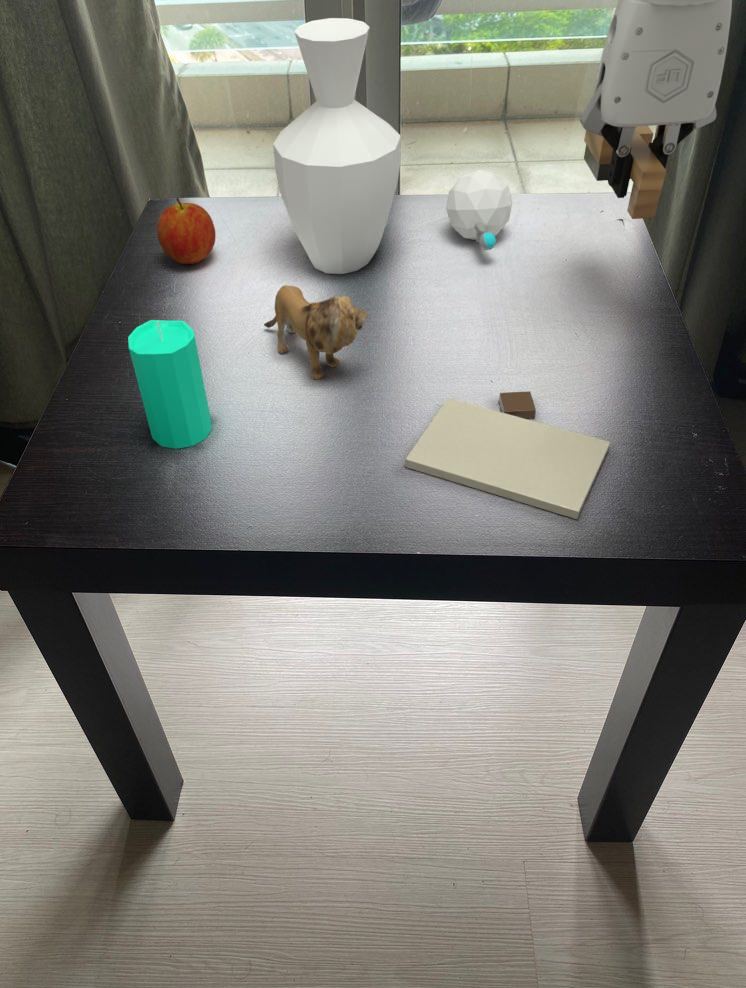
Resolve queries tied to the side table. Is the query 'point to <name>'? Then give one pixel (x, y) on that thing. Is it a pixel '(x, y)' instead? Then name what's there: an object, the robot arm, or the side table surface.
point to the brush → (643, 172)
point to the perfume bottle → (479, 206)
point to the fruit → (186, 232)
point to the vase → (337, 154)
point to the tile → (510, 457)
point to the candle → (170, 382)
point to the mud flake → (517, 404)
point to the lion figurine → (316, 324)
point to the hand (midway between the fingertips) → (632, 189)
